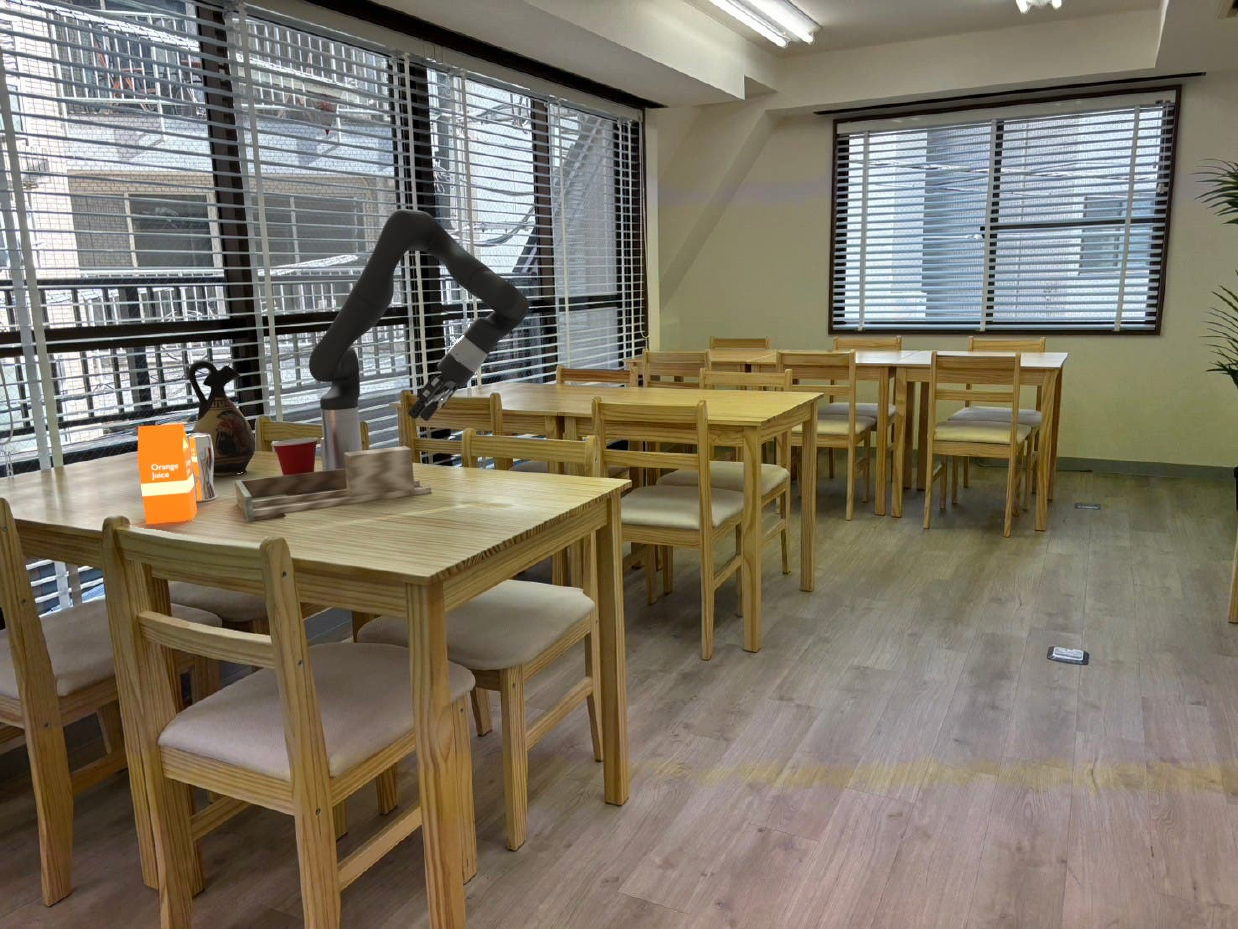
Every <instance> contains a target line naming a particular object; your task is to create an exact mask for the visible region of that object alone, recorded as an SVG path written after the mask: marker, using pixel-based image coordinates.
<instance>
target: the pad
mask: <svg viewBox="0 0 1238 929" xmlns="http://www.w3.org/2000/svg"><path fill="white" fill-rule="evenodd" d="M280 497H288V496H287V495H286V494H283V495H275V496H267V497H259V498H252V501H257V500H265V499H273V498H280Z"/></svg>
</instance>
